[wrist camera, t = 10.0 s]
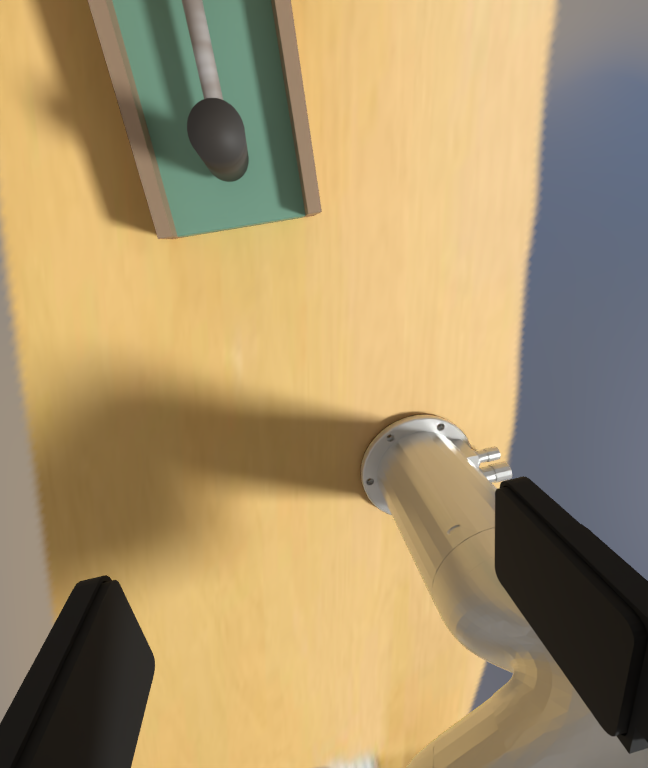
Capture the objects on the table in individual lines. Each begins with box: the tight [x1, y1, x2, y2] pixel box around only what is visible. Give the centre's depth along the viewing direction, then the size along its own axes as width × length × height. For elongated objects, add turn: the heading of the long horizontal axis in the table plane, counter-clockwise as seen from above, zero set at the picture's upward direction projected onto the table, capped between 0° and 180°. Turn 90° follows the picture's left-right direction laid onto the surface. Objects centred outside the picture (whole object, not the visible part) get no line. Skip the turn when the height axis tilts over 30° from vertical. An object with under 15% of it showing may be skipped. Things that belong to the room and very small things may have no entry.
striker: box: [182, 0, 249, 182], centre depth 22 cm, size 6×15×8 cm, turn 9°
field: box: [88, 0, 322, 239], centre depth 25 cm, size 12×26×5 cm, turn 9°
